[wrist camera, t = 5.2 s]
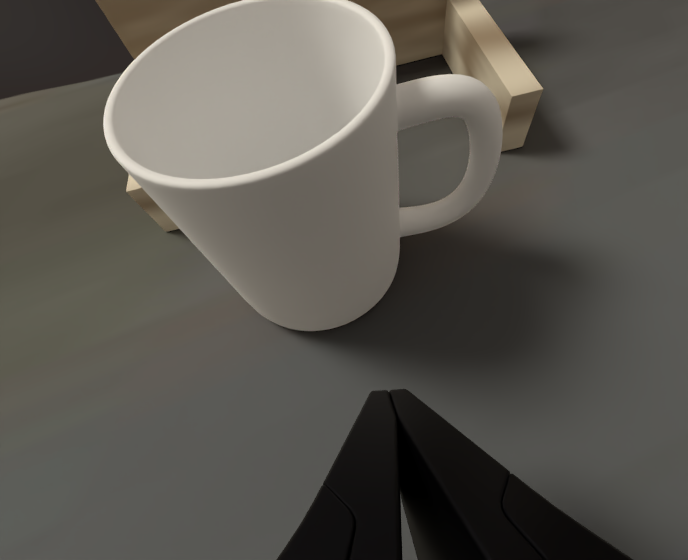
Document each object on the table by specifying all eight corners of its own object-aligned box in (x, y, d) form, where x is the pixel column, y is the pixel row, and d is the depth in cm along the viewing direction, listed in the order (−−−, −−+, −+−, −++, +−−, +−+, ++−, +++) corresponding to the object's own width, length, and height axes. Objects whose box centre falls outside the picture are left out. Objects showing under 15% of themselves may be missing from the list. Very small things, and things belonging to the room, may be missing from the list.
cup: (248, 209, 21) (136, 21, 12) (456, 177, 20) (497, -56, 11) (237, 345, 17) (62, 211, 8) (496, 316, 16) (606, 124, 7)
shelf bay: (522, 146, 20) (583, -24, 13) (166, 231, 21) (49, 114, 14) (456, 37, 26) (475, -124, 19) (176, 108, 27) (95, -19, 20)
